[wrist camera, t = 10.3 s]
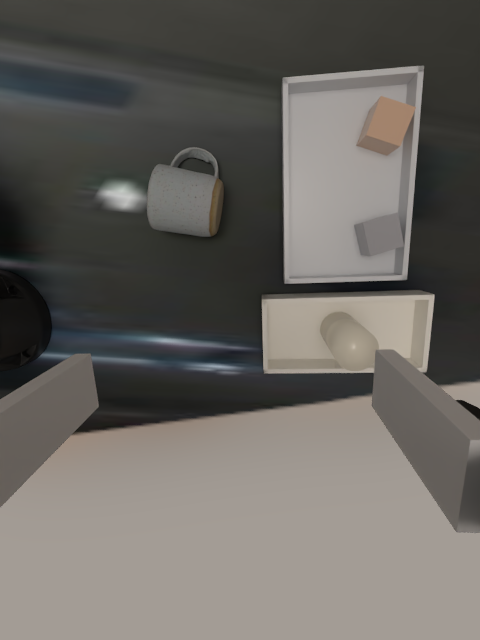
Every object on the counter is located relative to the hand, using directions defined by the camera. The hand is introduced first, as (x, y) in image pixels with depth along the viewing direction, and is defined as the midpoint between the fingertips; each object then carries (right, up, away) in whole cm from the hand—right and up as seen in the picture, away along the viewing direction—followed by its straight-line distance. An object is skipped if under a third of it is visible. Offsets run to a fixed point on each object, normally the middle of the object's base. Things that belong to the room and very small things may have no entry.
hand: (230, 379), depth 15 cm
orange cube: (+17, +25, +24) cm, 39 cm away
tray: (+14, +20, +26) cm, 35 cm away
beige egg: (+14, +1, +30) cm, 33 cm away
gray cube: (+18, +14, +27) cm, 35 cm away
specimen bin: (+14, +2, +31) cm, 34 cm away
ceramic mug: (-6, +19, +28) cm, 35 cm away
